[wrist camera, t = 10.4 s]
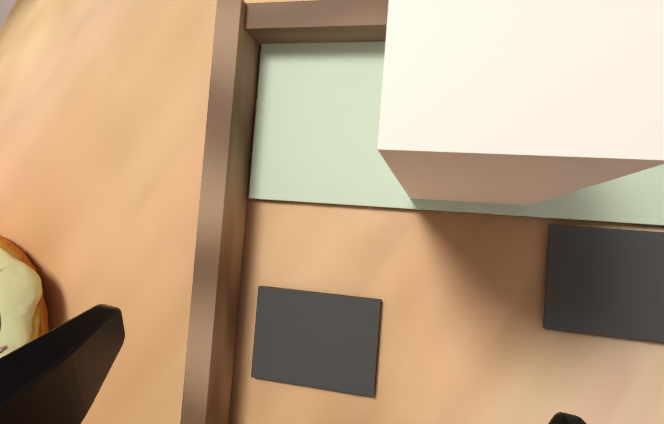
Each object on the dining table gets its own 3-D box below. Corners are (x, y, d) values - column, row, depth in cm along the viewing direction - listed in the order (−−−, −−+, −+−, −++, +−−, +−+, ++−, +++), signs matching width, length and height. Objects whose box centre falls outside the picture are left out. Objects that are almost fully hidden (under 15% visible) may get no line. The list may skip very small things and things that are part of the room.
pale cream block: (527, 205, 19) (674, 161, 7) (410, 198, 20) (377, 149, 8) (534, 91, 19) (690, -130, 8) (417, 90, 20) (396, -103, 9)
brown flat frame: (760, 682, 17) (816, 759, 14) (196, 535, 22) (167, 573, 20) (790, 6, 18) (847, -31, 15) (240, 24, 23) (217, -2, 20)
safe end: (737, 230, 18) (742, 230, 17) (251, 198, 22) (248, 198, 22) (747, 37, 18) (751, 33, 17) (263, 46, 23) (261, 43, 22)
